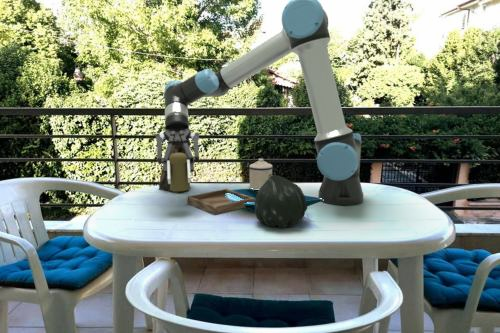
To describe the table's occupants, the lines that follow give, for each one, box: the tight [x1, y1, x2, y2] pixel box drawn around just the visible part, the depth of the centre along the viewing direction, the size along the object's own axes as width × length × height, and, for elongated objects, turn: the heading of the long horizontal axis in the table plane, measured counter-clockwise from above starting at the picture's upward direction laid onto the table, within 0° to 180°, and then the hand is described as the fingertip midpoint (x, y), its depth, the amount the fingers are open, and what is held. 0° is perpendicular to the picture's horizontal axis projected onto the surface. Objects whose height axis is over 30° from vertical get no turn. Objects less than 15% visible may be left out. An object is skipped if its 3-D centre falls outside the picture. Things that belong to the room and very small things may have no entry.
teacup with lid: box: [248, 158, 274, 189], centre depth 148 cm, size 12×9×12 cm
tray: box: [186, 188, 256, 216], centre depth 127 cm, size 16×16×2 cm
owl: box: [158, 138, 192, 194], centre depth 145 cm, size 13×13×20 cm
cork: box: [169, 153, 191, 191], centre depth 116 cm, size 6×6×11 cm
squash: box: [254, 174, 308, 229], centre depth 108 cm, size 14×15×15 cm
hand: (179, 180), depth 112 cm, fingers closed on cork, 5 cm apart
